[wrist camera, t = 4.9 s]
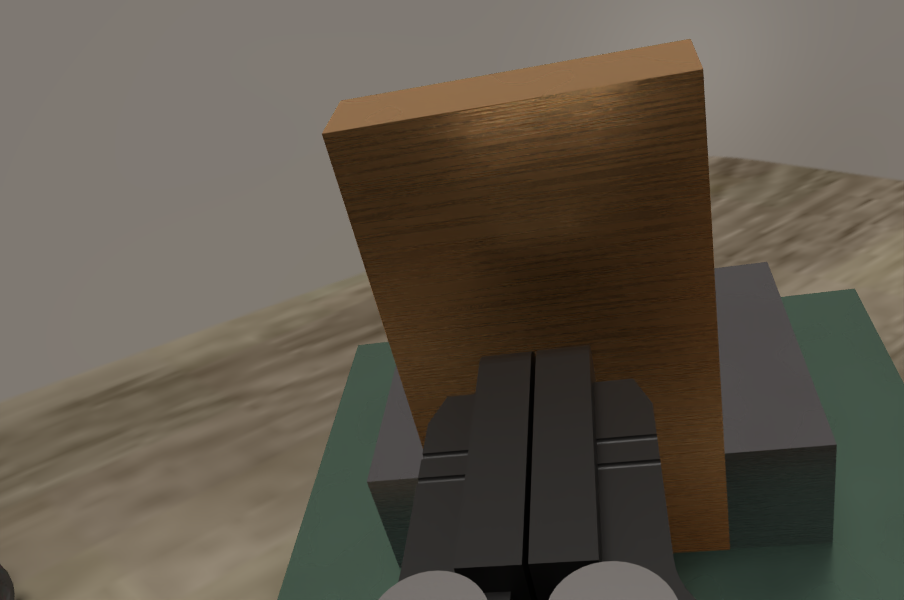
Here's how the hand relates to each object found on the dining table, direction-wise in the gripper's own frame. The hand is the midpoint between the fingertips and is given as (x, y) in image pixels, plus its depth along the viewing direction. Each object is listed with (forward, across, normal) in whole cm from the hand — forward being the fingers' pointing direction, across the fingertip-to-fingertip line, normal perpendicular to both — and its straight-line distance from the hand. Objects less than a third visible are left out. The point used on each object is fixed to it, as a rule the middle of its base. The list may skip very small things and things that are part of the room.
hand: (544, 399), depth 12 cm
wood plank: (+6, 0, +5) cm, 8 cm away
